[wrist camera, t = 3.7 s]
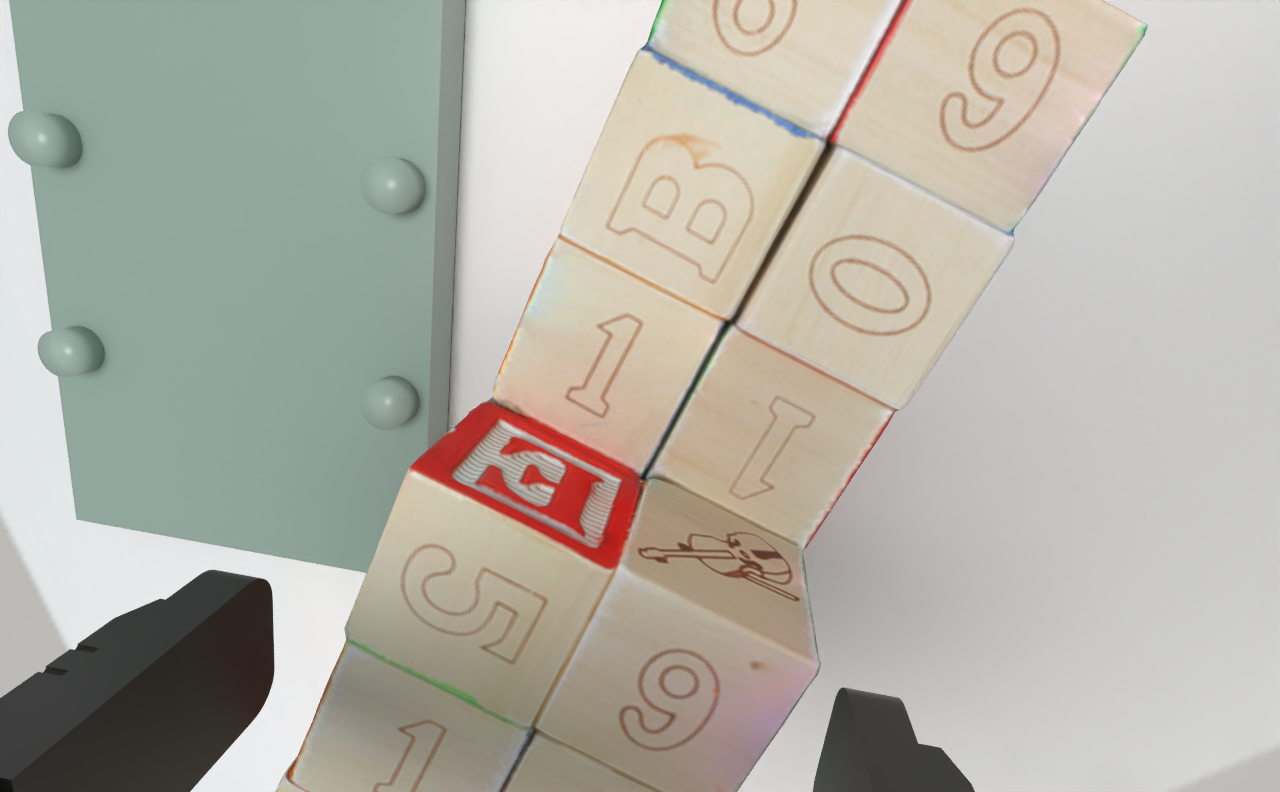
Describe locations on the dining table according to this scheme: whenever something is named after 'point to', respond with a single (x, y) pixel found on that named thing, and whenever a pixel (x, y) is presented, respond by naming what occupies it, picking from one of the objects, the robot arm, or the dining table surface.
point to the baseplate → (245, 257)
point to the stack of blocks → (700, 393)
